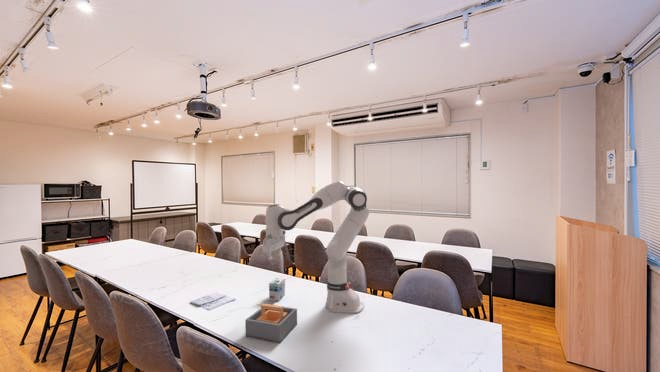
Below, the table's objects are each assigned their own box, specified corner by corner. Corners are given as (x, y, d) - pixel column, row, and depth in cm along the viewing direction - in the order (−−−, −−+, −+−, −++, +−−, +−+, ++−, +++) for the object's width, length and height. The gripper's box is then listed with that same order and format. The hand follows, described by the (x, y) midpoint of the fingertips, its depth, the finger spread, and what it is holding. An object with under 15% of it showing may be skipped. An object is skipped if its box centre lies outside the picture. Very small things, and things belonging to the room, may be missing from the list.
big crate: (297, 324, 141) (296, 308, 141) (279, 343, 124) (279, 325, 124) (266, 319, 147) (266, 304, 147) (245, 337, 130) (245, 319, 130)
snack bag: (217, 294, 184) (217, 290, 185) (236, 300, 173) (236, 297, 173) (189, 304, 169) (189, 300, 169) (208, 312, 157) (207, 308, 157)
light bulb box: (279, 301, 170) (278, 283, 170) (268, 300, 171) (268, 283, 172) (285, 294, 181) (285, 278, 181) (275, 294, 182) (275, 277, 182)
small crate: (287, 324, 139) (287, 302, 139) (276, 335, 128) (276, 312, 128) (268, 321, 142) (268, 300, 142) (256, 332, 132) (256, 309, 132)
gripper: (269, 236, 145) (270, 263, 145) (286, 230, 165) (287, 253, 165) (259, 236, 147) (259, 262, 147) (277, 230, 167) (277, 253, 167)
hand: (274, 257), depth 156 cm, fingers open, 8 cm apart
